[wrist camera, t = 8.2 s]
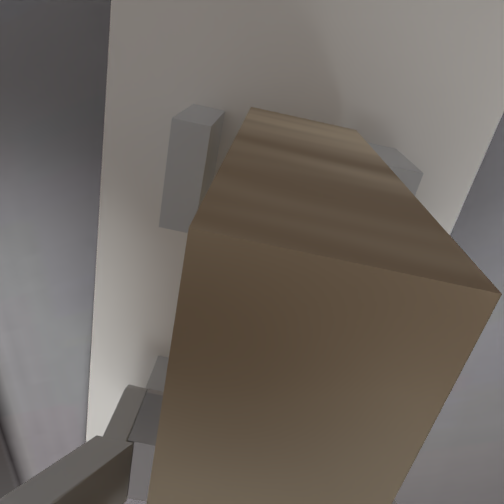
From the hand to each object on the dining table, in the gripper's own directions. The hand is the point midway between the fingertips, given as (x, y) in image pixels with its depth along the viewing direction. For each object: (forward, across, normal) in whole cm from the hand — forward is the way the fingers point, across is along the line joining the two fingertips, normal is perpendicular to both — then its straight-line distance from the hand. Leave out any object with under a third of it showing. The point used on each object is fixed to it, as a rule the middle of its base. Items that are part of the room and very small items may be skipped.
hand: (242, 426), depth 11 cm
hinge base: (+7, 0, 0) cm, 7 cm away
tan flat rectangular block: (+5, 0, 0) cm, 5 cm away
